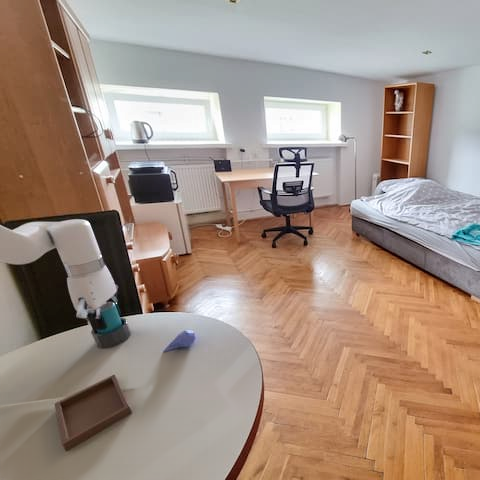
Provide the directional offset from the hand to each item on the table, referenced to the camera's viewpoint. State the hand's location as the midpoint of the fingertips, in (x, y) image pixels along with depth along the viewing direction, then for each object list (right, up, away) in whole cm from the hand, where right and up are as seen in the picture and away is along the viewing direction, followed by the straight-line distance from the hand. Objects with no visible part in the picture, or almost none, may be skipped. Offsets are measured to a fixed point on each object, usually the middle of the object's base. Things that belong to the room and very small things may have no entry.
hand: (107, 321), depth 82 cm
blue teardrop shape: (+22, -7, 0) cm, 23 cm away
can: (0, -6, +2) cm, 6 cm away
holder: (0, -6, +2) cm, 7 cm away
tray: (+14, -14, -19) cm, 28 cm away
